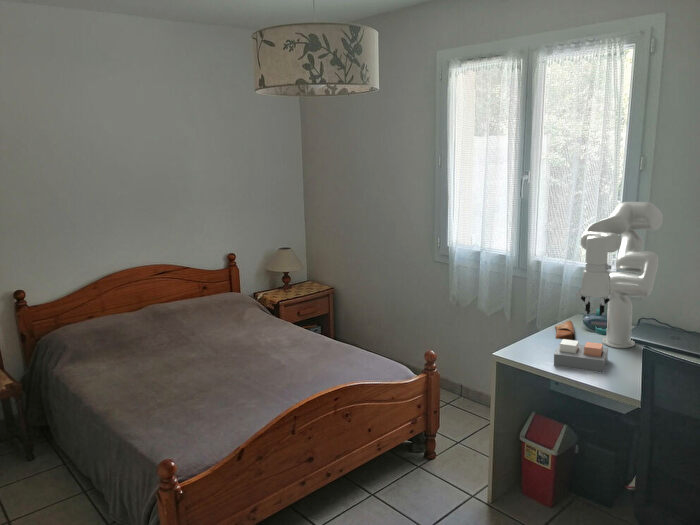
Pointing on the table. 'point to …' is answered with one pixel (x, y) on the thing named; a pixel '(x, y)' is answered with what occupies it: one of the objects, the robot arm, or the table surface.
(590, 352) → the orange square block
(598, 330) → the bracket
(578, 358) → the key console
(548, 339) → the table surface
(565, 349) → the offwhite key
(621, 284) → the robot arm
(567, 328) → the sunglasses case
